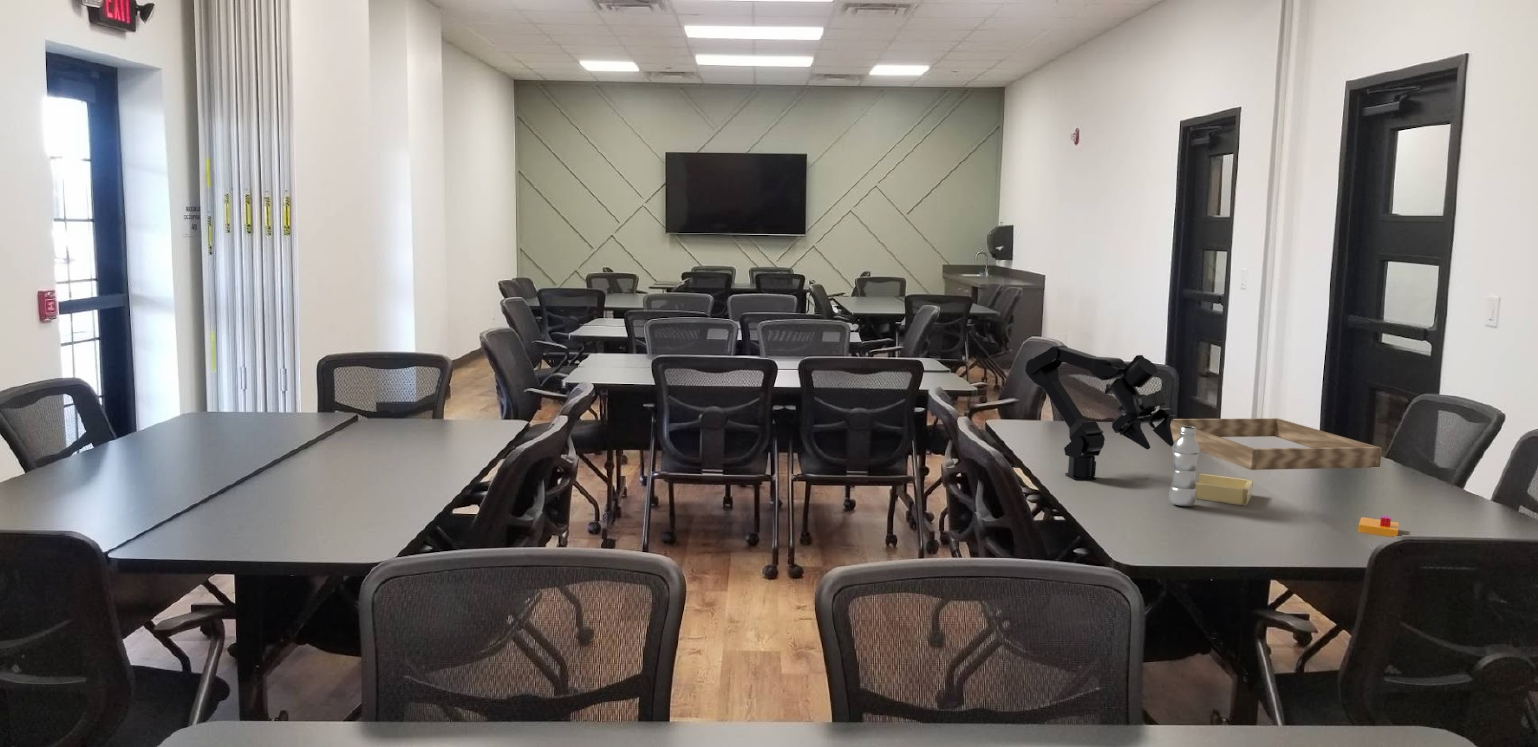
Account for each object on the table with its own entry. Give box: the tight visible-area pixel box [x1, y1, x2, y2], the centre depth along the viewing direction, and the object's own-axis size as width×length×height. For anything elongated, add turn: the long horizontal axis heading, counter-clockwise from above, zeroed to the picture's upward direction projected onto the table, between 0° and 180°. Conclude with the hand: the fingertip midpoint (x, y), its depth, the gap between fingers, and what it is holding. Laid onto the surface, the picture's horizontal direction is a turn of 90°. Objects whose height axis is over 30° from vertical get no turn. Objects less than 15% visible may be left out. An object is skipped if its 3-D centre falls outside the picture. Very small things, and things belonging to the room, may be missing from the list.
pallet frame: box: [1170, 417, 1383, 471], centre depth 348 cm, size 43×49×6 cm
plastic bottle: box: [1168, 426, 1201, 507], centre depth 275 cm, size 6×7×20 cm
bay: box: [1196, 473, 1254, 507], centre depth 286 cm, size 13×13×4 cm
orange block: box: [1357, 515, 1400, 538], centre depth 257 cm, size 8×8×4 cm
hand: (1160, 447), depth 281 cm, fingers open, 9 cm apart
